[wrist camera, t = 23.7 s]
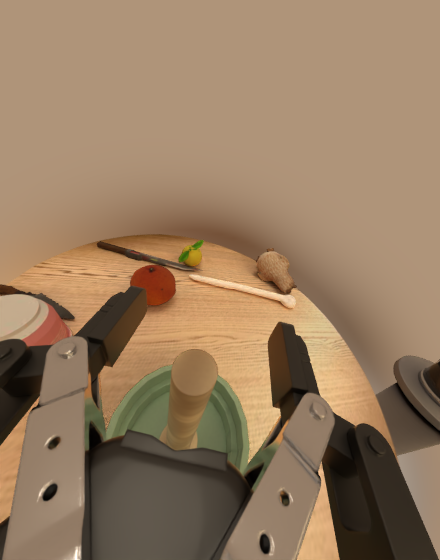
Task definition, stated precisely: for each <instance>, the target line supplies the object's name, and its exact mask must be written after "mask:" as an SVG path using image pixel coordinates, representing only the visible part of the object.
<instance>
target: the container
mask: <svg viewBox="0 0 440 560" xmlns="http://www.w3.org/2000/svg"><path fill="white" fill-rule="evenodd" d="M71 336H73V335H72V332H71V330H70V328H69V327H68V326H67V325H66V324H64V322H63V321H62V319H61V318H60V316H59V315H58V314H57V312H56V311H55V309H54V308H53V307H52V306H51V305H49V304H48V303H46V302H44V301H42V300H40V299H37V298H34V297H32V296H29V295H23V294H13V295H5V296H0V341H3V340H7V339H21V340H23V341H24V342H25V343H26V344H27V346H39V345H53V344H55V343H56V342H58V341H60V340H62V339H64V338H67V337H71Z"/></svg>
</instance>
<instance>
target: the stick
mask: <svg viewBox="0 0 440 560" xmlns="http://www.w3.org/2000/svg"><path fill="white" fill-rule="evenodd" d="M217 377H218V368H217V364H216V362H215V360H214V359H213V357H212V356H211V355H210V354H208V353H207V352H205V351H203V350H199V349H191V350H187V351H185V352H183V353H181V354H180V355H179V356H178V357H177V358H176V359H175V361H174V363H173V365H172V369H171V381H170V394H169V408H168V421H167V426H166V427H165V428H164V430H163V431H162V433H161V436H160V439H159V440H160V441H162V442H163V443H165V444H166V445H167V446H169V447H170V448H172V449H174V450H185V449H194V448H197V443H198V438H197V432H196V430H197V428H198V425H199V423H200V420H201V418H202V415H203V413H204V410H205V408H206V406H207V403H208V401H209V398H210V396H211V393H212V391H213V388H214V386H215V383H216V381H217Z"/></svg>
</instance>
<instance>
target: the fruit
mask: <svg viewBox="0 0 440 560" xmlns="http://www.w3.org/2000/svg"><path fill="white" fill-rule="evenodd" d="M130 286H137V287H141V288H145V289H146V293H147V305H160V304H163V303H165V302H167V301H168V300H169V299H171V298H172V297H173V295H174V294H175V291H176V289H175V278H174V276H173V274H172V273H171V272H170V271H169V270H168V269H166V268H164V267H162V266H159V265H148V266H145V267H142V268H140V269H138V270H137V271H136V272H135V273H134V274H133V276H132V278H131V282H130Z"/></svg>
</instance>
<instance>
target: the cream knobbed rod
mask: <svg viewBox="0 0 440 560" xmlns="http://www.w3.org/2000/svg"><path fill="white" fill-rule="evenodd" d="M189 277H190V278H192V279H194V280H198V281H201V282H205V283H208V284H212V285H215V286H220V287H224V288H230V289H236V290H240V291H243V292H248V293H251V294H255V295H259V296H263V297H267V298H271V299H274V300H278V301H281V303H282V304H283V305H284V306H286V307H287V308H293V307H294V306H295V304H296V300H295V298H294V296H292V295H280V294H277V293H273V292H269V291H265V290H261V289H257V288H253V287H249V286H245V285H241V284H237V283H232V282H228V281H223V280H218V279H213V278H208V277H203V276H199V275H195V274H191V275H189Z"/></svg>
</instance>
